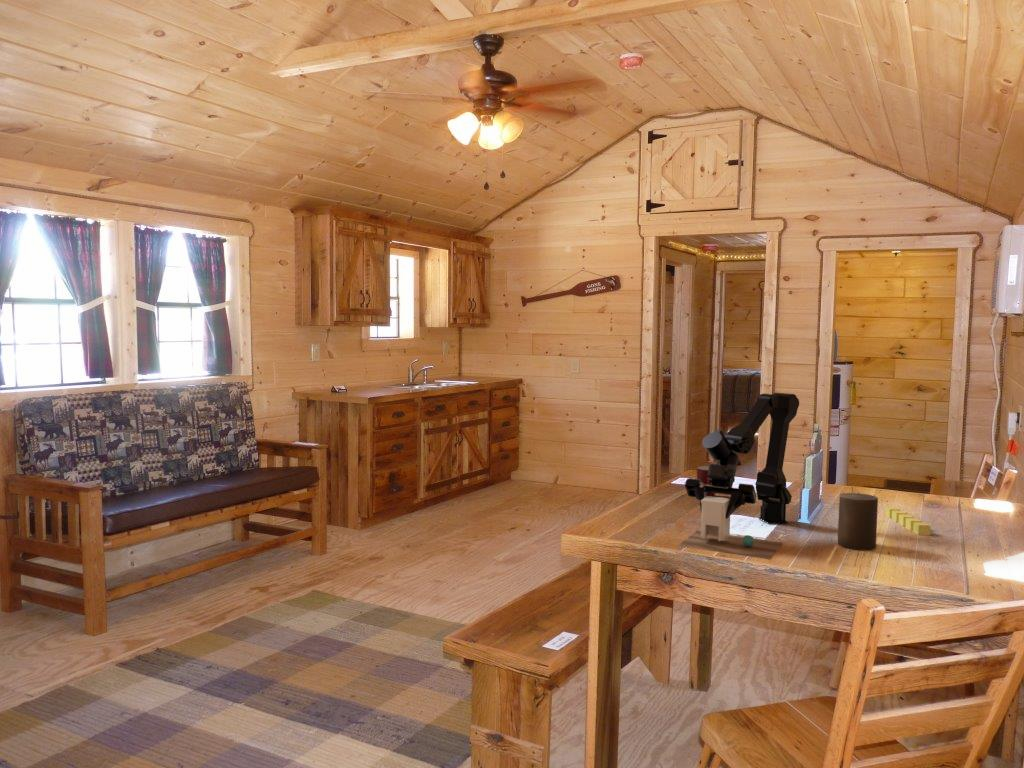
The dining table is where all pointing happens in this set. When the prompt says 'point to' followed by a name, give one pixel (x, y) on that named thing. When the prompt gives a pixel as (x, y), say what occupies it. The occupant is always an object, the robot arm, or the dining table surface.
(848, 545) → the pillar candle
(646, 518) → the dining table surface
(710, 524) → the cream matte box
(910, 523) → the yellow stair block
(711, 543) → the board
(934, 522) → the dining table surface
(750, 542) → the marble
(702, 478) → the mug
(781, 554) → the dining table surface
